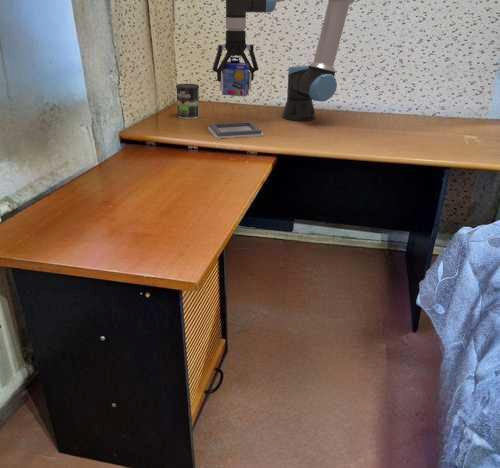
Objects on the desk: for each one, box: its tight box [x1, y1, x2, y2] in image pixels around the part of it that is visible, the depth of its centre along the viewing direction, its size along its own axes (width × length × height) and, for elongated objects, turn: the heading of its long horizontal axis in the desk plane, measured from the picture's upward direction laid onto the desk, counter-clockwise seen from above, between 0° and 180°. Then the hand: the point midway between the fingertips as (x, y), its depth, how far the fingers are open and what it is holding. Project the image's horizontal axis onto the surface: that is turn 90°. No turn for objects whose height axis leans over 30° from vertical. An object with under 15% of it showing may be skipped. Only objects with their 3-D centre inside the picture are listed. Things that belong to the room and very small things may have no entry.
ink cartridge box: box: [221, 56, 250, 97], centre depth 189 cm, size 10×6×14 cm, turn 76°
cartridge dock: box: [207, 121, 265, 140], centre depth 198 cm, size 20×16×2 cm
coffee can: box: [175, 83, 200, 120], centre depth 219 cm, size 10×10×14 cm
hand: (235, 89), depth 191 cm, fingers closed on ink cartridge box, 11 cm apart
